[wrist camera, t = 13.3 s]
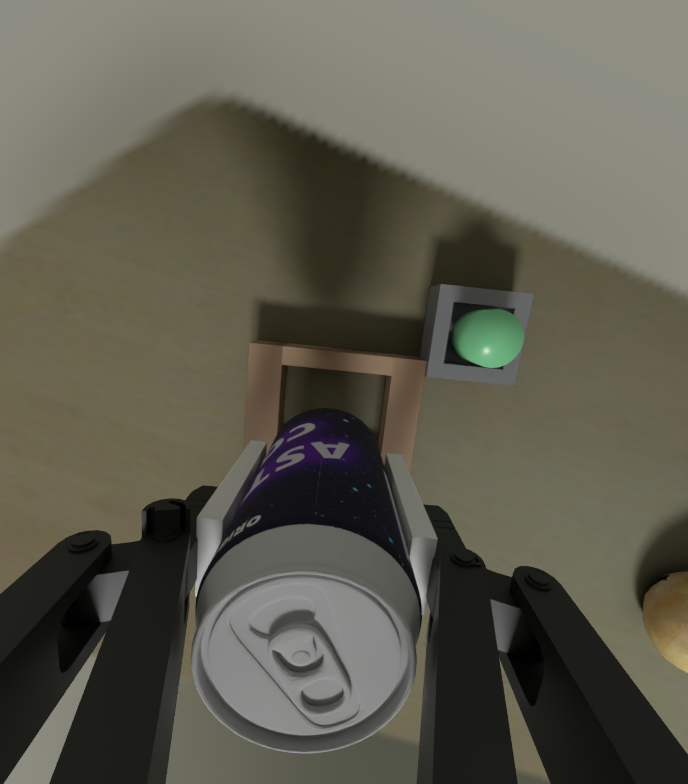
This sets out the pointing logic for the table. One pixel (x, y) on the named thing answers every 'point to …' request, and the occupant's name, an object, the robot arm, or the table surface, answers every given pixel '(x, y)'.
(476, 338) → the button
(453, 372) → the button housing
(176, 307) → the table surface
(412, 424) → the glass rack
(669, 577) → the onion
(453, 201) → the table surface
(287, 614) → the beverage can
